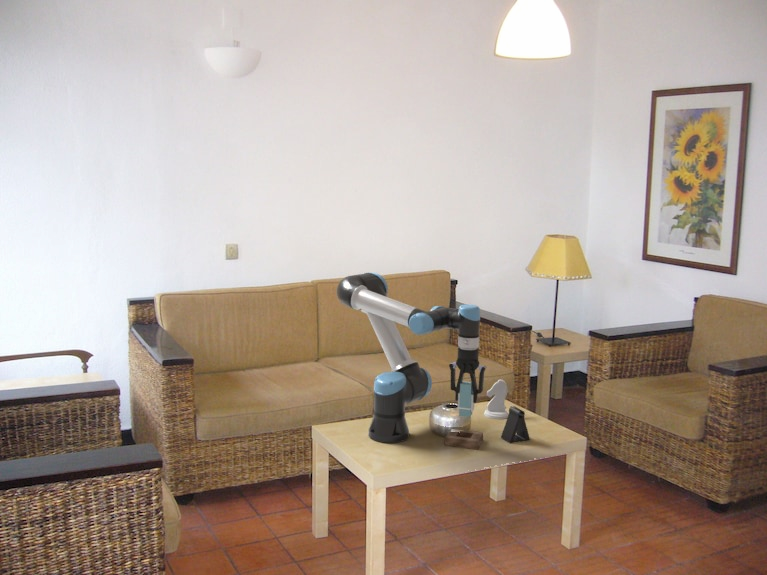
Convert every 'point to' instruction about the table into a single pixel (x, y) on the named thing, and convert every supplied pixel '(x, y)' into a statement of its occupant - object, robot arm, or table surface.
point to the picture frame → (515, 427)
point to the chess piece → (497, 401)
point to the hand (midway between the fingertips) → (465, 409)
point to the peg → (465, 399)
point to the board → (464, 439)
